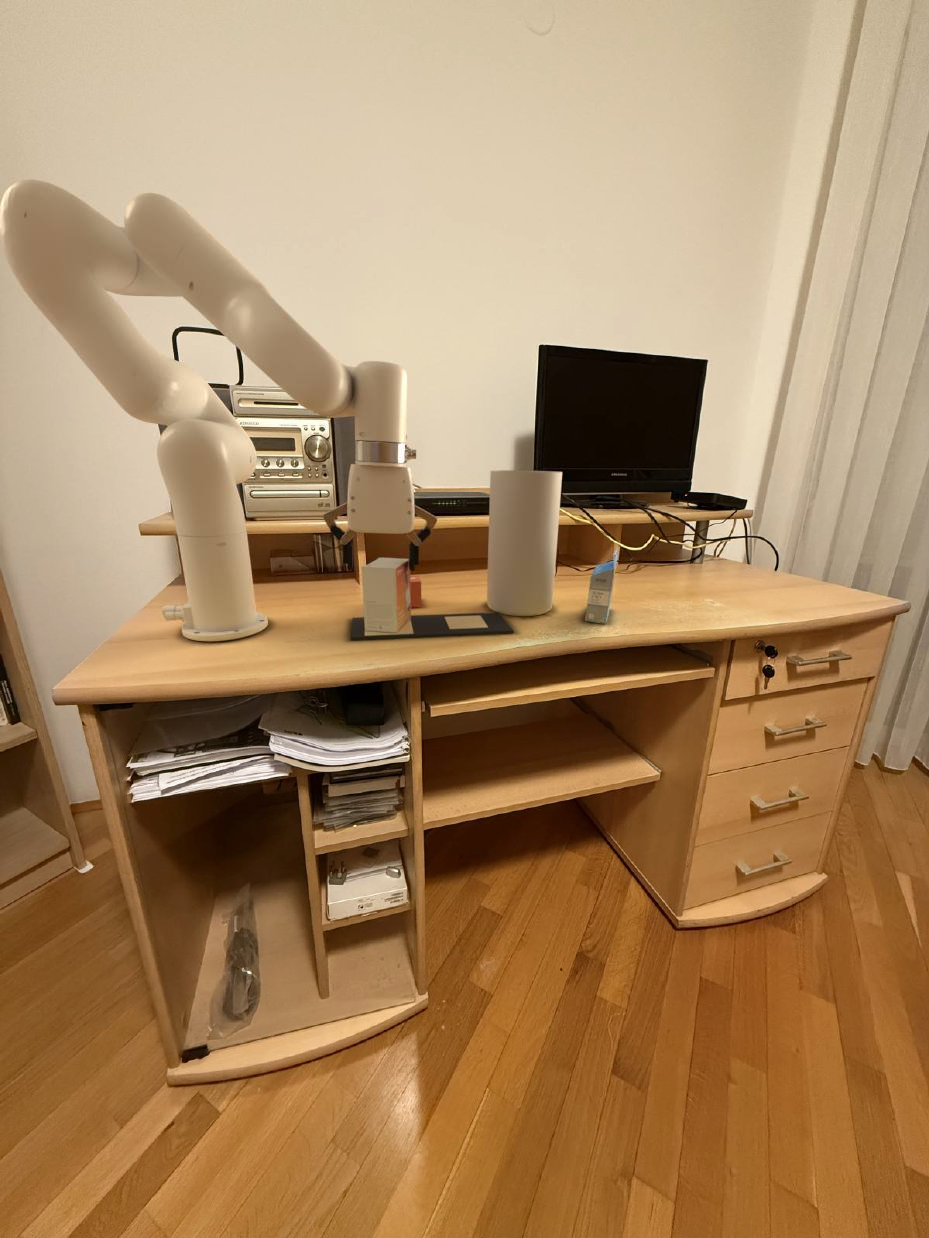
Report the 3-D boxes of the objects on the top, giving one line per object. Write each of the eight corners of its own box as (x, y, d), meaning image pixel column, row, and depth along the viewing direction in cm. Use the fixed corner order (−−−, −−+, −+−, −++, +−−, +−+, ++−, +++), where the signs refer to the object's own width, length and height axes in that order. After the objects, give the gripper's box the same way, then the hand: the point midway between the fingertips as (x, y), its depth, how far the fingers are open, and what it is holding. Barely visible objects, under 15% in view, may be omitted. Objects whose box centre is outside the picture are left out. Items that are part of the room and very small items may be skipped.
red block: (395, 608, 92) (394, 581, 91) (394, 600, 97) (393, 575, 95) (421, 607, 93) (421, 581, 91) (419, 600, 98) (419, 575, 96)
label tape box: (589, 608, 94) (595, 544, 90) (611, 610, 93) (618, 546, 89) (584, 621, 86) (591, 552, 82) (608, 624, 85) (616, 554, 81)
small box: (397, 634, 77) (395, 568, 73) (363, 631, 78) (360, 566, 74) (412, 618, 84) (411, 558, 81) (381, 616, 85) (378, 556, 82)
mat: (350, 640, 75) (349, 636, 75) (352, 620, 85) (352, 617, 85) (513, 633, 80) (513, 629, 80) (498, 614, 89) (498, 611, 89)
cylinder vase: (478, 613, 90) (482, 471, 82) (495, 596, 101) (500, 470, 93) (546, 620, 86) (556, 473, 78) (556, 602, 98) (566, 471, 90)
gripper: (436, 458, 78) (432, 564, 83) (323, 452, 75) (327, 563, 80) (442, 459, 71) (438, 574, 76) (318, 452, 68) (322, 573, 73)
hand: (381, 568), depth 78 cm, fingers open, 9 cm apart
